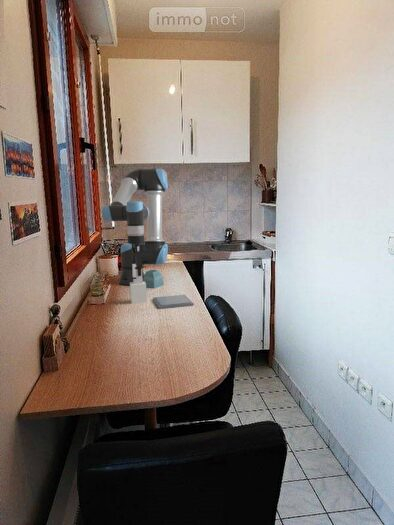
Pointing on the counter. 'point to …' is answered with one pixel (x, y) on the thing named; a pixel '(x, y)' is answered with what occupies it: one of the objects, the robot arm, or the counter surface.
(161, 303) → the plate
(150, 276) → the teal faceted dome
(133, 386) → the counter surface
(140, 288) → the plug
